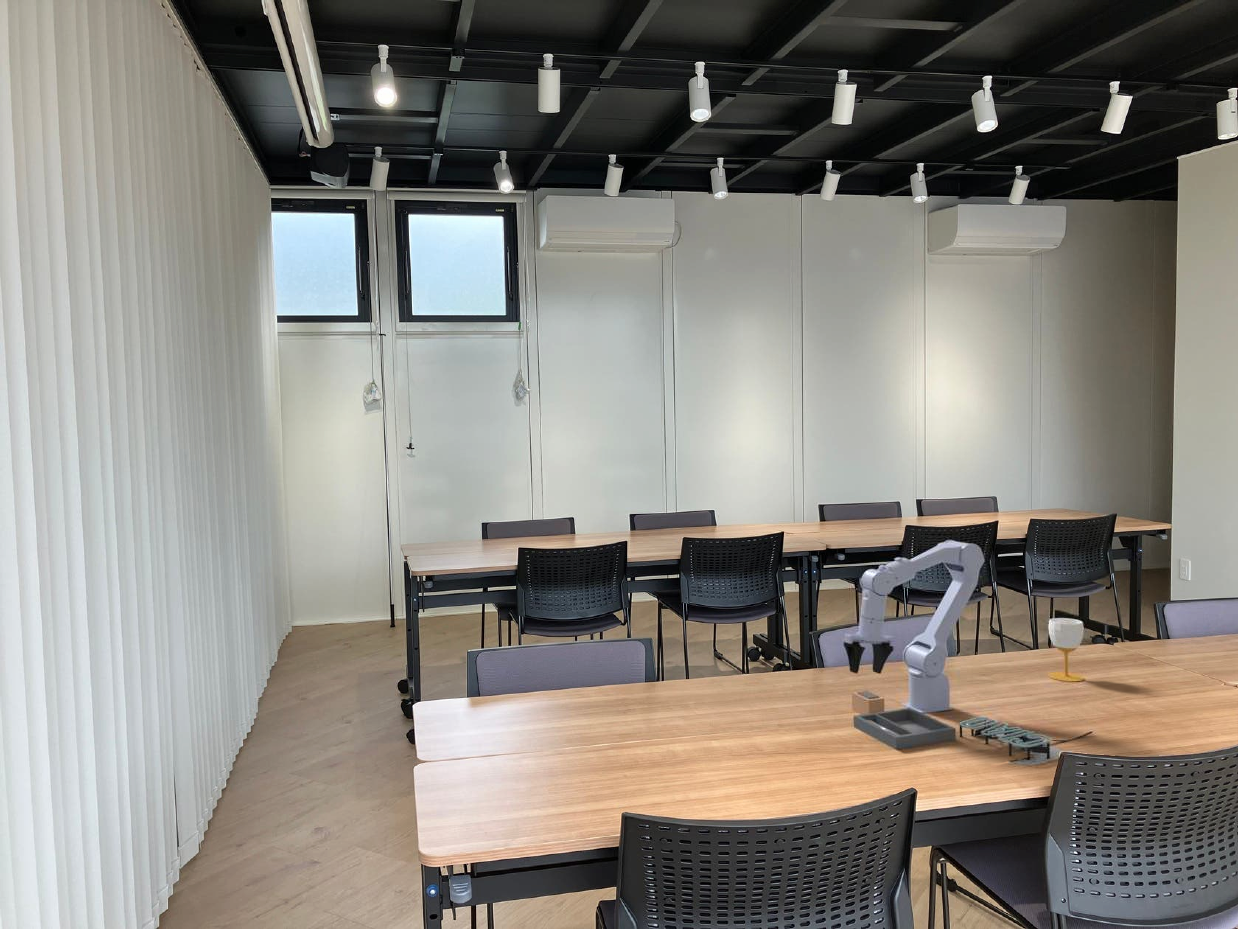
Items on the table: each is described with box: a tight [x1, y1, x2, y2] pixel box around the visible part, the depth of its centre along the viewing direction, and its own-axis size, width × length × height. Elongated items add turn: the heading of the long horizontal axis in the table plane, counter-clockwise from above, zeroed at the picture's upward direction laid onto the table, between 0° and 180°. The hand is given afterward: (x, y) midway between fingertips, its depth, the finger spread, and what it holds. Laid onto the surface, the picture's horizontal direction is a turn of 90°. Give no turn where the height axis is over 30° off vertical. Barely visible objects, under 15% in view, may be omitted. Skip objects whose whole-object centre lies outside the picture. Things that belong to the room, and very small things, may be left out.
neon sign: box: [958, 716, 1093, 766], centre depth 192 cm, size 21×4×29 cm
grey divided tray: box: [853, 707, 957, 750], centre depth 197 cm, size 16×16×3 cm
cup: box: [1047, 617, 1085, 683], centre depth 240 cm, size 9×9×16 cm
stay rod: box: [867, 720, 899, 736], centre depth 195 cm, size 12×2×2 cm, turn 19°
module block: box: [851, 690, 885, 715], centre depth 212 cm, size 4×7×5 cm, turn 19°
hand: (865, 672), depth 211 cm, fingers open, 7 cm apart
